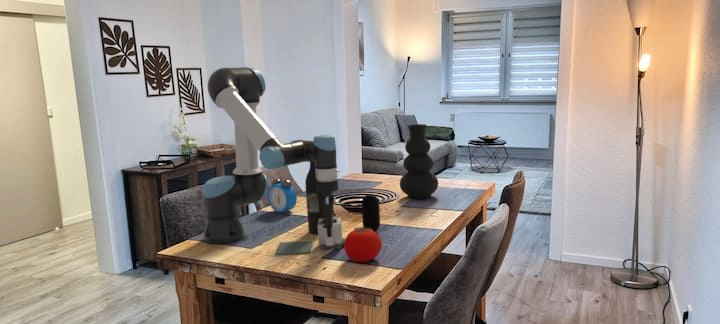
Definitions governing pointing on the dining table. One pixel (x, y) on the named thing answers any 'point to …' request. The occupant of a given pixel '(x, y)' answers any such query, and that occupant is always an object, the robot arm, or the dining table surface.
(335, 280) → the dining table surface
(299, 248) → the rubber mat
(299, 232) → the dining table surface
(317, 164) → the robot arm
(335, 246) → the post
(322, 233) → the white block
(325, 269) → the dining table surface
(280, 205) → the alarm clock
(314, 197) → the wine bottle
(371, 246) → the tomato
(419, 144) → the vase
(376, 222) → the decorative object
